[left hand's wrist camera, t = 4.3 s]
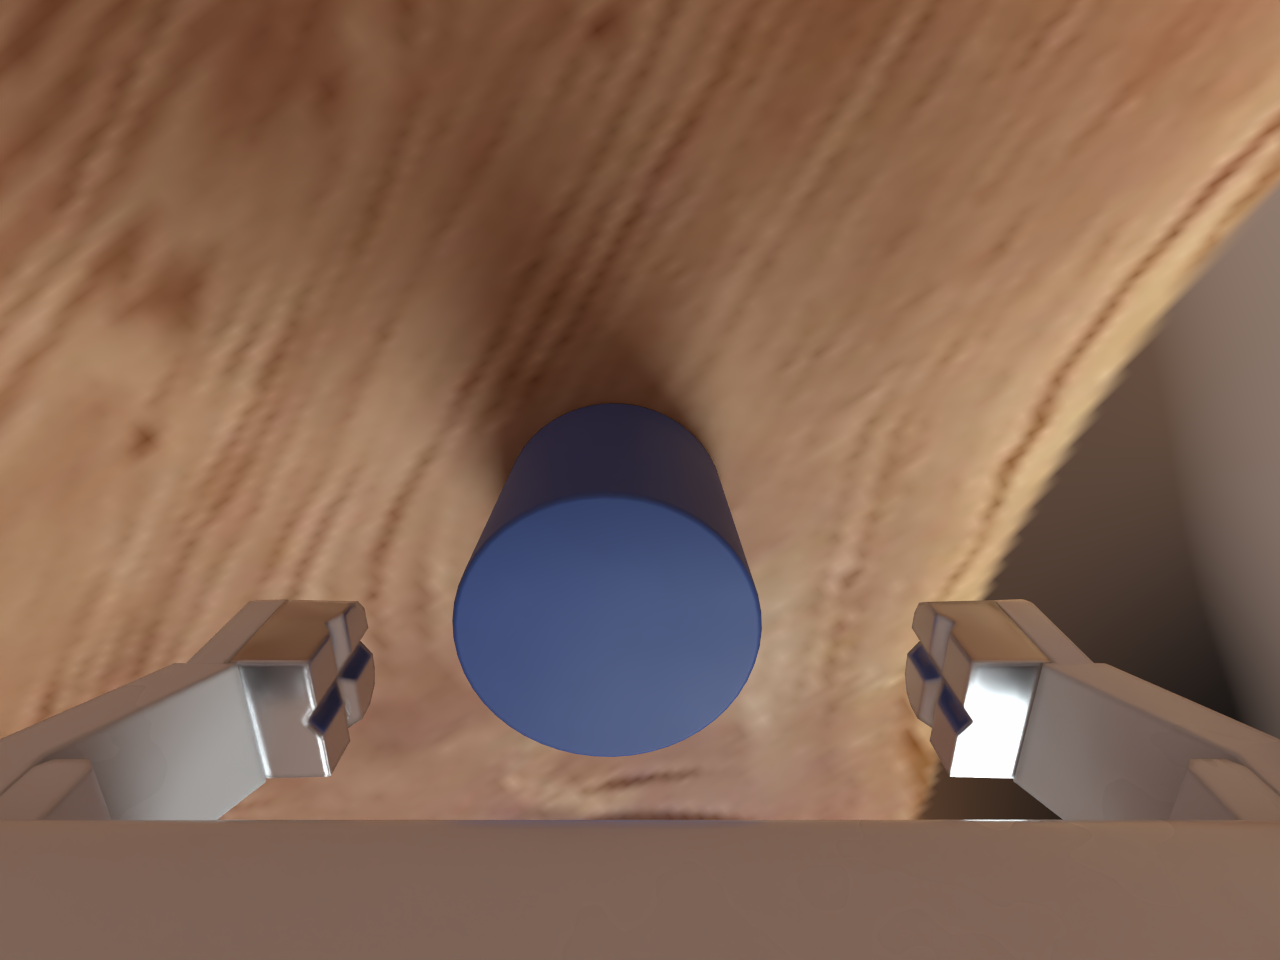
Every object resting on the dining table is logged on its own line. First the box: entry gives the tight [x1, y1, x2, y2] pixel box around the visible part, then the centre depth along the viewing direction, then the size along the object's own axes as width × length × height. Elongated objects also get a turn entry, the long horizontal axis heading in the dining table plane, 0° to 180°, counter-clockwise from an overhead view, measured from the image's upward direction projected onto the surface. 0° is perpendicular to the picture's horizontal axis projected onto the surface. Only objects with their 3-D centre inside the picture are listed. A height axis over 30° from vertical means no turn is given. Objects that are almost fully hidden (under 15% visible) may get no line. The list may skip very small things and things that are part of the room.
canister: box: [453, 403, 762, 757], centre depth 12 cm, size 4×4×5 cm
